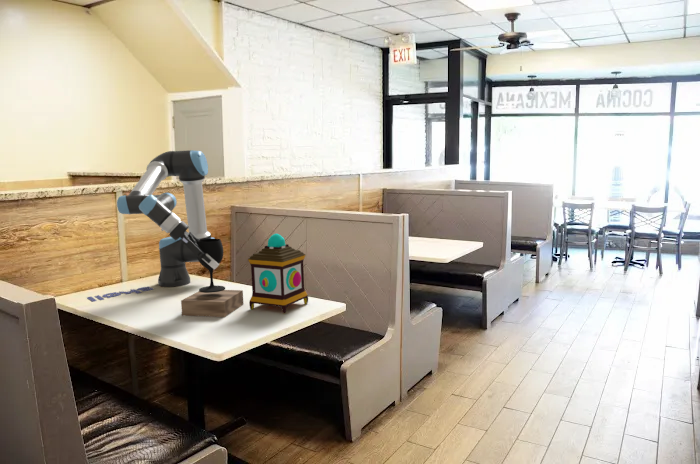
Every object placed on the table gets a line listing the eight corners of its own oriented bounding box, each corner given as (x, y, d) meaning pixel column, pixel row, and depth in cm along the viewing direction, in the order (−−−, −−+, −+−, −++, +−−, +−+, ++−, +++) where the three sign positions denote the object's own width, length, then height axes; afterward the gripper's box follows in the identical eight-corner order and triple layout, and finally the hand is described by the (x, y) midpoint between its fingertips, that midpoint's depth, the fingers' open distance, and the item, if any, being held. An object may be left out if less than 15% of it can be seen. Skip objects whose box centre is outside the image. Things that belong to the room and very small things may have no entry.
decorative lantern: (244, 310, 219) (240, 235, 215) (273, 298, 237) (270, 229, 232) (286, 315, 210) (282, 238, 206) (313, 302, 227) (310, 231, 223)
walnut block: (203, 303, 231) (202, 289, 230) (243, 304, 228) (242, 290, 227) (182, 315, 214) (181, 300, 213) (225, 317, 210) (224, 301, 209)
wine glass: (216, 293, 213) (213, 242, 210) (193, 291, 216) (190, 241, 213) (230, 287, 223) (227, 238, 220) (208, 285, 226) (205, 237, 223)
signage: (148, 285, 264) (156, 289, 257) (148, 287, 264) (156, 290, 257) (85, 296, 246) (92, 301, 238) (86, 298, 246) (92, 302, 239)
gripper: (173, 230, 225) (214, 265, 230) (162, 238, 203) (208, 277, 207) (186, 217, 225) (227, 252, 230) (176, 223, 203) (222, 262, 207)
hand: (218, 264), depth 218 cm, fingers closed on wine glass, 10 cm apart
